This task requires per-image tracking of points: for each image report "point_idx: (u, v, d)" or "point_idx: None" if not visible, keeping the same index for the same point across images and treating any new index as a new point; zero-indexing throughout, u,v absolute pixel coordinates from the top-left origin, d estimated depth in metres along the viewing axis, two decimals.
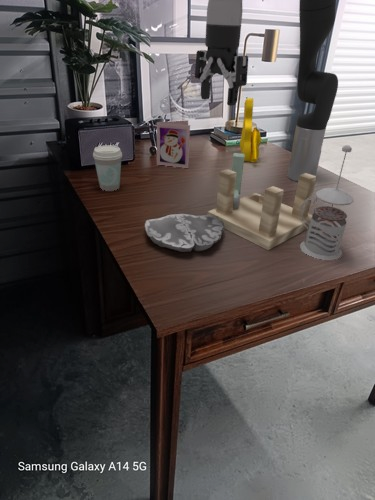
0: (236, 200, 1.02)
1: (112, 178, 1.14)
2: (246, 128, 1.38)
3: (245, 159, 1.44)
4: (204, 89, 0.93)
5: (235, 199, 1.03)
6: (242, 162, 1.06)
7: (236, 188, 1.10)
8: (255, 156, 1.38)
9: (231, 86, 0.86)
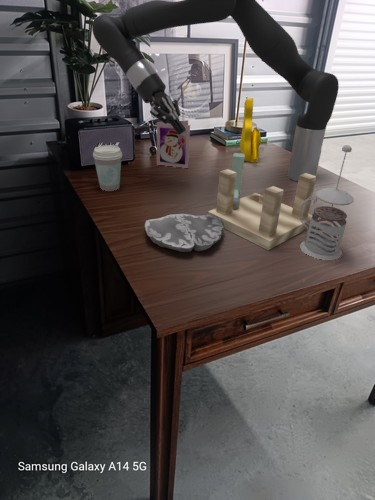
0: (236, 200, 1.02)
1: (112, 178, 1.14)
2: (246, 128, 1.38)
3: (245, 159, 1.44)
4: None
5: (235, 199, 1.03)
6: (242, 162, 1.06)
7: (236, 188, 1.10)
8: (255, 156, 1.38)
9: (178, 117, 1.11)
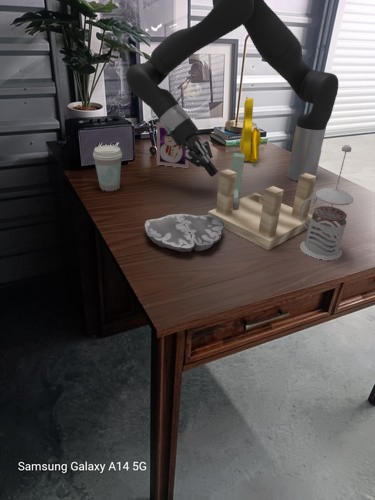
0: (236, 200, 1.02)
1: (112, 178, 1.14)
2: (246, 128, 1.38)
3: (245, 159, 1.44)
4: None
5: (235, 199, 1.03)
6: (242, 162, 1.06)
7: (236, 188, 1.10)
8: (255, 156, 1.38)
9: (210, 159, 1.12)
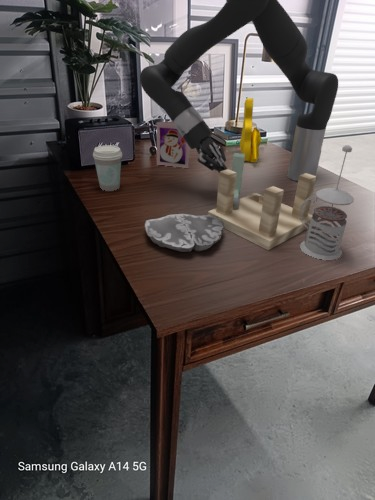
0: (236, 200, 1.02)
1: (112, 178, 1.14)
2: (246, 128, 1.38)
3: (245, 159, 1.44)
4: None
5: (235, 199, 1.03)
6: (242, 162, 1.06)
7: (236, 188, 1.10)
8: (255, 156, 1.38)
9: (224, 163, 1.11)
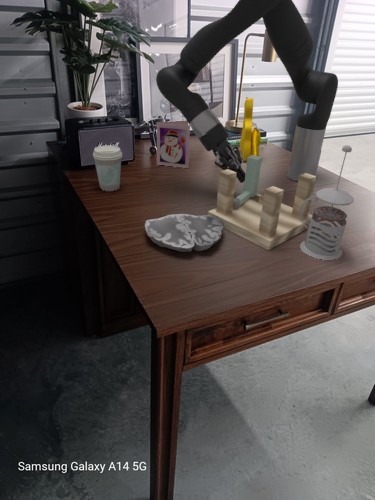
0: (235, 200, 1.02)
1: (112, 178, 1.14)
2: (246, 128, 1.38)
3: (245, 159, 1.44)
4: None
5: (235, 199, 1.03)
6: (255, 165, 1.05)
7: (249, 190, 1.09)
8: None
9: (240, 165, 1.10)
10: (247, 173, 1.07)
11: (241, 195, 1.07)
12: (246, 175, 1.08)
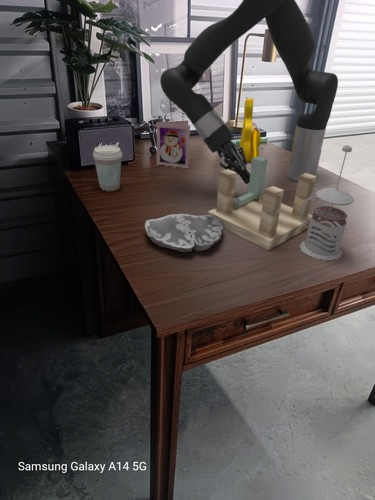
0: (235, 200, 1.02)
1: (112, 178, 1.14)
2: (246, 128, 1.38)
3: None
4: None
5: (235, 199, 1.03)
6: (259, 166, 1.04)
7: (253, 192, 1.08)
8: (255, 156, 1.38)
9: (245, 166, 1.09)
10: (252, 174, 1.07)
11: (244, 196, 1.07)
12: (251, 176, 1.07)
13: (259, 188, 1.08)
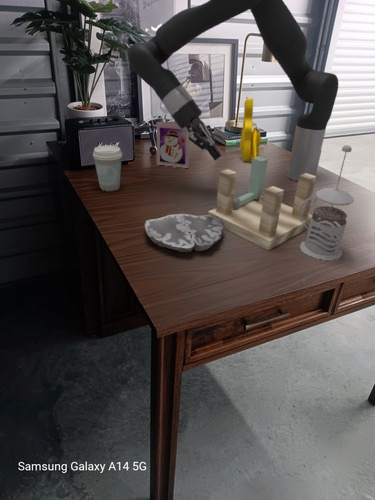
0: (234, 200, 1.02)
1: (112, 178, 1.14)
2: (246, 128, 1.38)
3: (245, 159, 1.44)
4: None
5: (235, 199, 1.03)
6: (260, 166, 1.04)
7: (253, 192, 1.08)
8: (255, 156, 1.38)
9: None
10: (252, 174, 1.07)
11: (244, 196, 1.07)
12: (251, 176, 1.07)
13: (259, 188, 1.08)
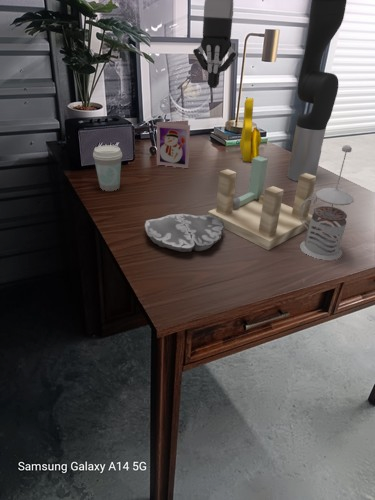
0: (234, 200, 1.02)
1: (112, 178, 1.14)
2: (246, 128, 1.38)
3: (245, 159, 1.44)
4: None
5: (235, 199, 1.03)
6: (260, 166, 1.04)
7: (253, 192, 1.08)
8: (255, 156, 1.38)
9: None
10: (252, 174, 1.07)
11: (244, 196, 1.07)
12: (251, 176, 1.07)
13: (259, 188, 1.08)
